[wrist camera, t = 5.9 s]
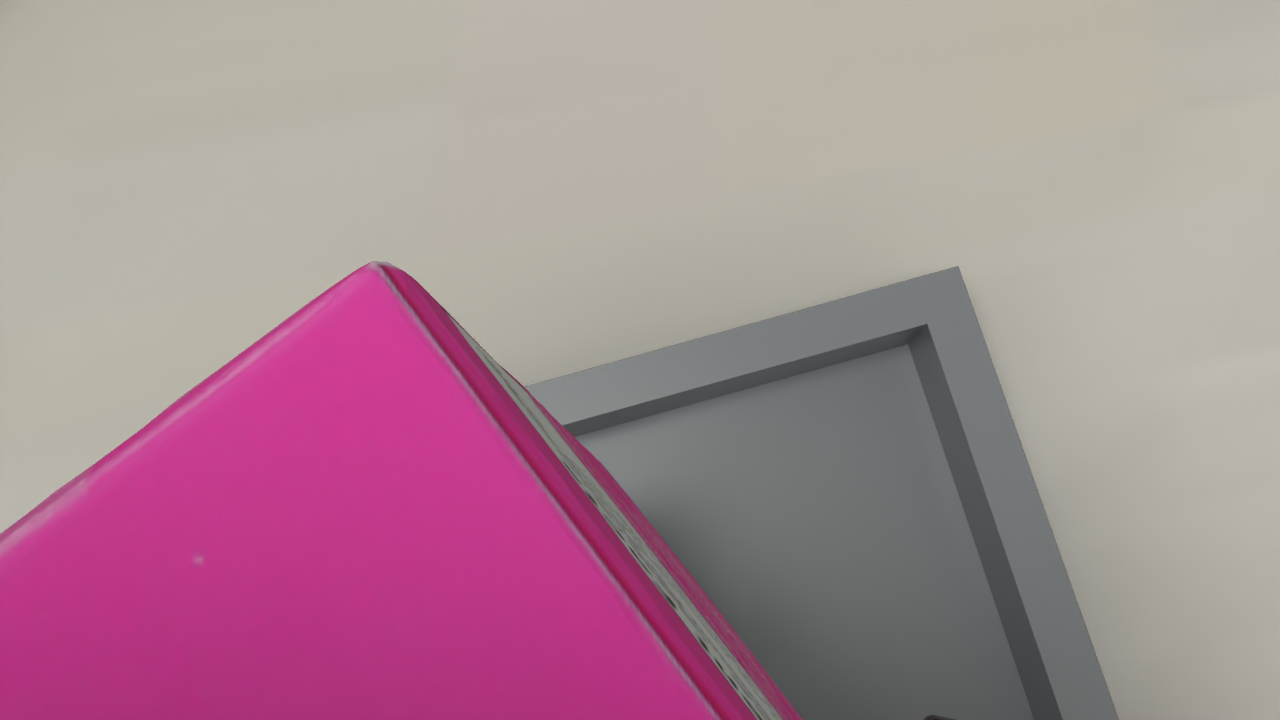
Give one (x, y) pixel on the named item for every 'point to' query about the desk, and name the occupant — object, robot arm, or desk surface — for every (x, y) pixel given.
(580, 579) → the supplement box
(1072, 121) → the desk surface
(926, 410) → the tray
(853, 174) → the desk surface
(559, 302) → the desk surface
